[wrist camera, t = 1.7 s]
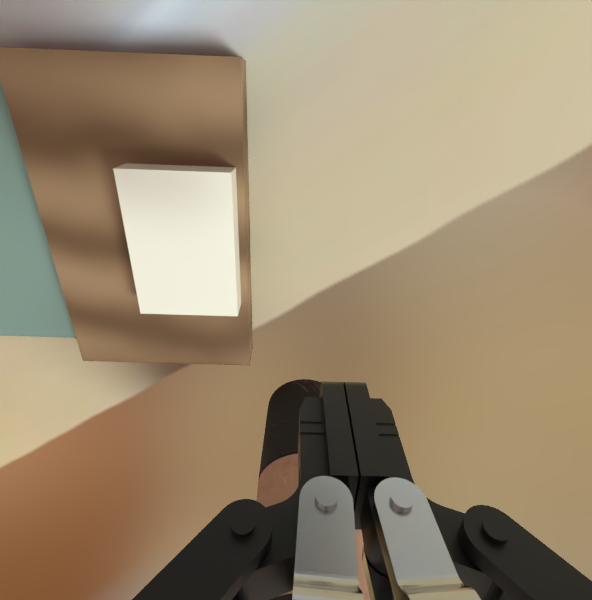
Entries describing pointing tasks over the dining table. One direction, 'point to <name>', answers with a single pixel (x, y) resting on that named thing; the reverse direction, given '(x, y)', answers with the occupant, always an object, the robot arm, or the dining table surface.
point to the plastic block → (182, 237)
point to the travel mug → (290, 457)
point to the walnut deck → (103, 192)
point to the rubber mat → (25, 250)
